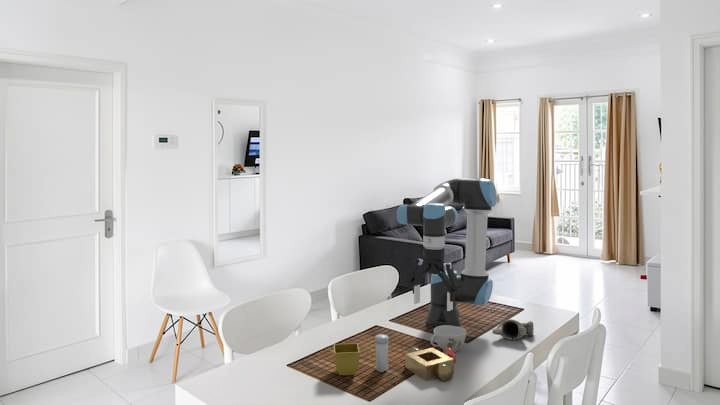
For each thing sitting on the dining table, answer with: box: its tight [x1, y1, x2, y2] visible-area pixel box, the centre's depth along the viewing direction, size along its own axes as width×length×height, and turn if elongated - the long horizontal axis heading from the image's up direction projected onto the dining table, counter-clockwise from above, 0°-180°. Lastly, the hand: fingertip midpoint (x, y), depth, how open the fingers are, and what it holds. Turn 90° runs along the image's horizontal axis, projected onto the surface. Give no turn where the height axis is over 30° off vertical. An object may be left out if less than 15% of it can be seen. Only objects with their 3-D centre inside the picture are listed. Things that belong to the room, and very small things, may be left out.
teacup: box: [430, 325, 468, 353], centre depth 199 cm, size 15×12×8 cm
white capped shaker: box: [374, 334, 390, 373], centre depth 182 cm, size 5×5×12 cm
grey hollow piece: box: [491, 318, 534, 341], centre depth 212 cm, size 16×9×15 cm
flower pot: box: [332, 342, 361, 376], centre depth 179 cm, size 9×9×9 cm
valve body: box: [404, 346, 457, 382], centre depth 182 cm, size 20×15×6 cm
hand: (433, 306), depth 183 cm, fingers open, 13 cm apart
